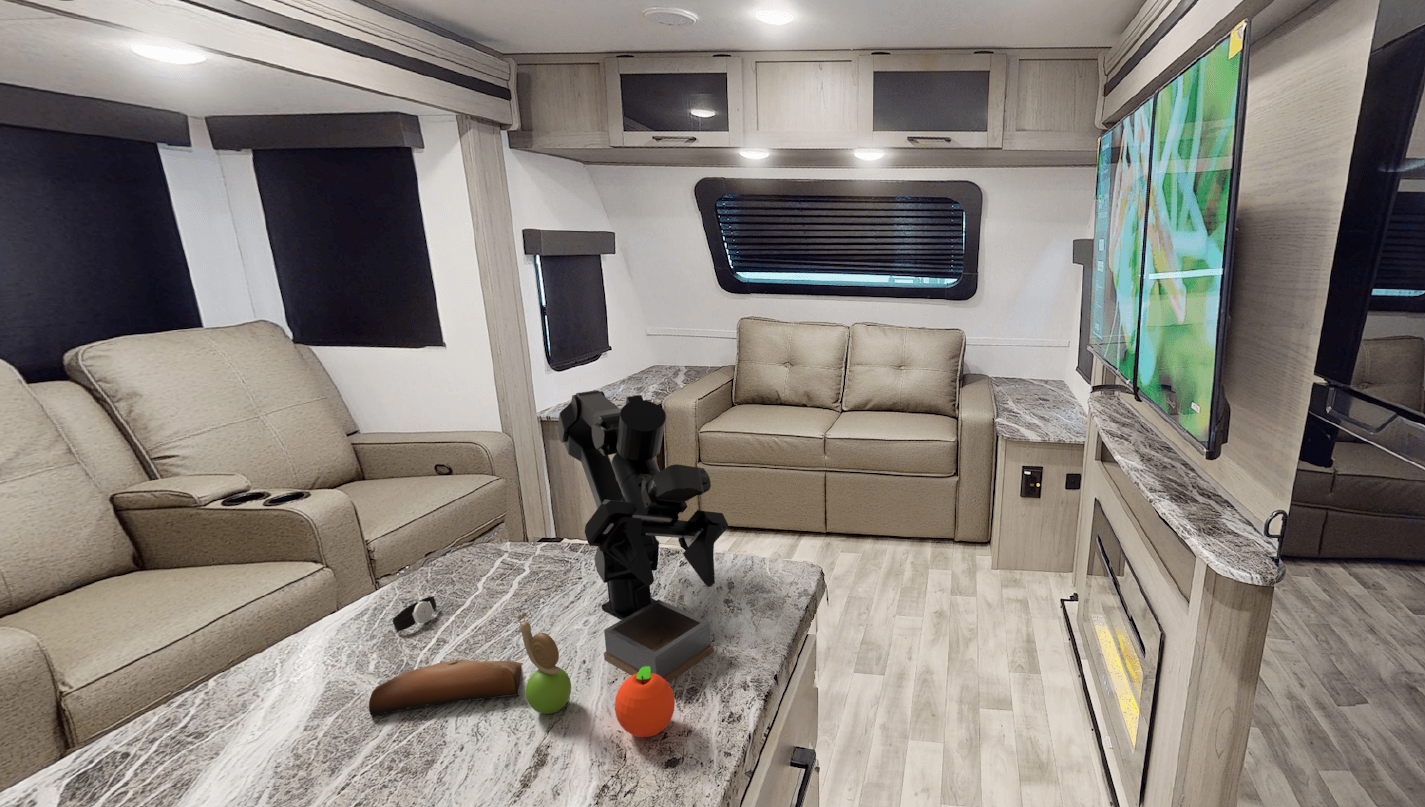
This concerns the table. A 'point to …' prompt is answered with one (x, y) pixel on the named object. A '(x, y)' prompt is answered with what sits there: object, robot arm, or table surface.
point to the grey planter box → (658, 641)
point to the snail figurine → (544, 672)
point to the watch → (415, 614)
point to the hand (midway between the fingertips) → (682, 584)
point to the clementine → (644, 703)
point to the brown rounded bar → (447, 685)
